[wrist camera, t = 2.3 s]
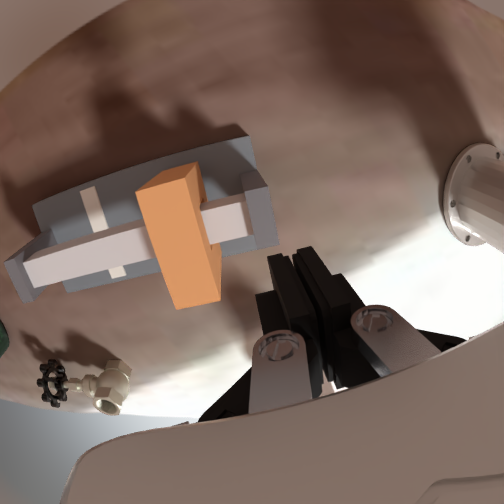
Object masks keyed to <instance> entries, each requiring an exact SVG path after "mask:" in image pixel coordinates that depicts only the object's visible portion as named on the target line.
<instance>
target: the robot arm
mask: <svg viewBox="0 0 504 504" xmlns="http://www.w3.org/2000/svg"><path fill="white" fill-rule="evenodd" d="M443 207H444V215H445V219H446V223H447V226H448V228H449V230H450V232H451V233H452V234H453V236H454V237H455V238H456V239H458V240H459V241H460V242H462V243H464V244H466V245H469V246H479V245H482V244H484V243H486V242H487V243H488V244H490V245H491V246H493V247H495V248H496V249H498V250H499V251H501V252H502V253H504V155H503V154H502V152H501V151H500V150H498V149H497V148H496V147H494V146H492V145H490V144H485V143H475V144H472V145H470V146H468V147H467V148H465V149H464V150H463V151H462V152H461V153H460V154H459V155H458V156H457V158H456V159H455V161H454V162H453V164H452V166H451V168H450V171H449V173H448V176H447V180H446V183H445V189H444V200H443ZM267 259H268V264H269V269H270V273H271V278H272V283H273V288H274V290H272V291H268V292H264V293H260V294H255V297H256V301H257V306H258V311H259V316H260V320H261V325H262V330H263V335H264V336H262V337H261V338H260V339H258V341H257V342H256V343H255V345H254V348H253V357H252V367H251V368H250V369H249V370H248V371H247V372H246V373H245V374H244V375H243V376H242V377H241V378H240V379H239V380H238V381H237V382H236V383H235V384H234V385H233V386H232V387H231V388H230V389H229V390H228V391H227V392H226V393H225V394H223V395H222V396H221V397H220V398H219V399H218V400H217V401H216V402H215V403H214V404H213V405H212V406H211V407H210V408H209V409H208V410H207V411H205V412H204V413H203V415H202V416H201V417H200V418H199V420H198V422H196V423H193V424H190V423H189V422H188V421H187V422H184V423H181V424H178V425H174V426H171V427H165V428H156V429H151V430H146V431H140V432H135V433H131V434H127V435H124V436H120V437H116V438H114V439H111V440H109V441H106V442H103V443H101V444H99V445H97V446H95V447H93V448H91V449H89V450H88V451H86V452H85V453H84V454H83V455H82V456H81V457H80V458H79V459H78V460H77V462H76V463H75V465H74V466H73V468H72V470H71V472H70V474H69V476H68V479H67V482H66V484H65V487H64V490H63V493H62V496H61V500H60V504H504V322H502V323H500V324H498V325H496V326H494V327H493V328H491V329H489V330H487V331H485V332H483V333H481V334H479V335H477V336H473V337H469V340H465V339H463V338H459V337H455V336H450V335H444V334H439V333H434V332H429V331H424V330H418V329H415V328H414V327H413V326H412V325H411V324H409V323H408V322H407V321H406V320H405V319H404V318H403V317H401V316H400V315H399V314H398V313H397V312H396V311H395V310H393V309H391V308H390V307H387V306H384V305H368V306H365V304H364V303H363V302H362V300H361V299H360V298H359V296H358V295H357V293H356V292H355V291H354V289H353V288H352V287H351V285H350V284H349V283H348V281H347V280H346V279H345V277H344V276H343V275H342V274H341V273H339V274H336V275H331V273H330V272H329V270H328V269H327V267H326V266H325V265H324V263H323V262H322V260H321V259H320V257H319V256H318V255H317V253H316V252H315V250H314V249H313V248H312V246H309V247H305V248H301V249H297V254H293V255H292V259H293V264H294V266H293V264H292V262H291V260H290V258H289V256H284V257H283V255H282V253H280V254H276V255H272V256H267ZM323 371H324V374H325V376H326V379H327V381H328V382H332V381H334V384H335V386H336V389H341V388H344V387H346V388H348V389H345V390H341V391H338V392H335V393H331V394H328V395H325V396H321V397H319V396H320V395H321V393H322V384H324V379H323Z"/></svg>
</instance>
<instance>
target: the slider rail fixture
mask: <svg viewBox="0 0 504 504" xmlns="http://www.w3.org/2000/svg"><path fill="white" fill-rule="evenodd" d="M197 161H198V164H199V168H200V172H201V176H202V179H203V183H204V187H205V191H206V195H207V199H208V202H204V203H201V204H200V211H201V215H202V218H203V222H204V226H205V229H206V233H207V236H208V240H209V243H210V245H211V244H215V243H220V247H221V251H222V257H226V256H231V255H235V254H240V253H244V252H248V251H253V250H258V249H263V248H267V247H271V246H276V245H280V244H279V239H278V234H277V229H276V224H275V219H274V214H273V209H272V204H271V199H270V194H269V189H268V186H267V184H266V183H265V181H264V180H263V178H262V177H261V175H260V174H259V172H258V171H257V167H256V162H255V158H254V153H253V149H252V144H251V140H250V136H249V135H247V136H243V137H238V138H234V139H229V140H225V141H221V142H217V143H213V144H208V145H204V146H201V147H197V148H193V149H189V150H185V151H182V152H178V153H175V154H171V155H168V156H164V157H161V158H157V159H154V160H151V161H148V162H144V163H141V164H138V165H135V166H132V167H129V168H126V169H123V170H120V171H117V172H114V173H111V174H108V175H105V176H102V177H100V178H97V179H94V180H91V181H89V182H86V183H83V184H81V185H78V186H76V187H73V188H70V189H68V190H65V191H63V192H60V193H58V194H56V195H53V196H51V197H48V198H46V199H44V200H41V201H39V202H37V203H35V204H33V205H32V208H33V211H34V214H35V216H36V219H37V222H38V225H39V228H40V230H41V234H39V235H38V236H37V237H35V238H34V239H33V240H31V241H30V242H29V243H27V244H26V245H25V246H23V247H22V248H21V249H20V250H18V251H17V252H16V253H14V254H13V255H12V256H11V257H9V258H8V259H7V260H6V261H5V262H4V264H5V267H6V269H7V271H8V273H9V276H10V278H11V280H12V282H13V284H14V286H15V288H16V290H17V292H18V294H19V296H20V298H21V300H22V302H23V303H27V302H32V301H34V300H35V299H36V298H37V297H38V296H39V295H40V294H41V292H42V291H43V290H44V289H45V288H46V287H47V286H48V285H49V284H52V283H56V282H60V281H62V283H63V285H64V287H65V289H66V291H67V293H70V292H74V291H78V290H83V289H87V288H91V287H96V286H100V285H104V284H109V283H113V282H118V281H122V280H126V279H131V278H135V277H139V276H144V275H148V274H152V273H157V272H161V268H160V265H159V262H158V260H157V257H156V254H155V251H154V248H153V245H152V243H151V240H150V237H149V234H148V231H147V228H146V225H145V222H144V219H143V215H142V212H141V209H140V206H139V203H138V200H137V196H136V193H135V192H136V191H137V190H138V189H140V188H141V187H142V186H143V185H145V184H146V183H147V182H149V181H150V180H151V179H152V178H154V177H155V176H156V175H158V174H159V173H160V172H162V171H164V170H168V169H171V168H175V167H178V166H182V165H186V164H189V163H193V162H197Z"/></svg>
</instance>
